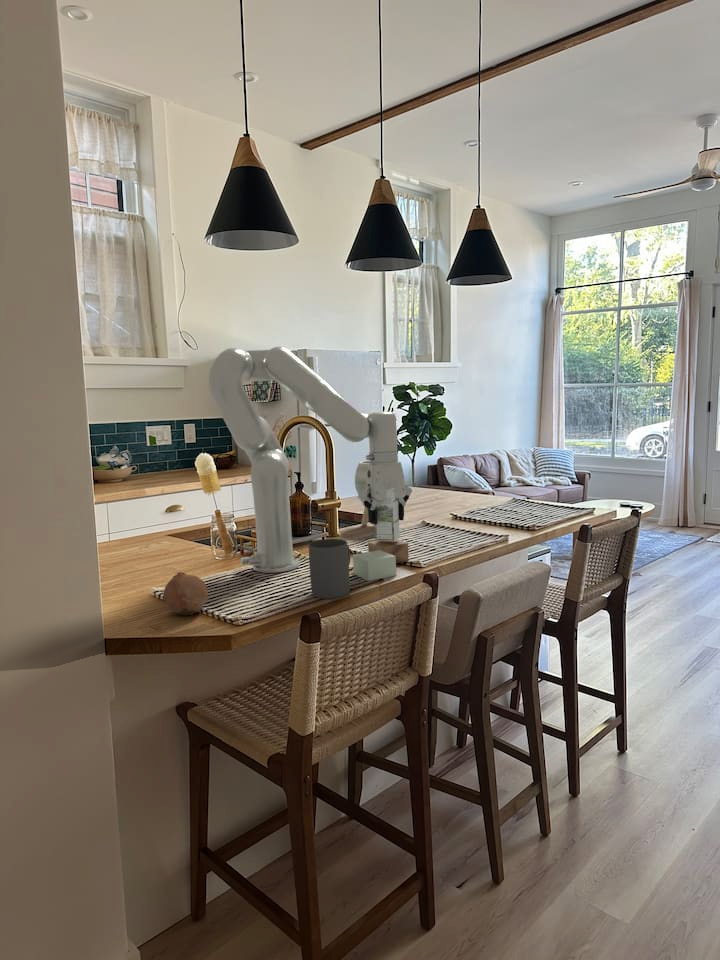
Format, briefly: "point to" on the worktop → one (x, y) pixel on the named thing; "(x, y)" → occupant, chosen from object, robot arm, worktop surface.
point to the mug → (329, 568)
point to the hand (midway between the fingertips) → (386, 521)
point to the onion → (185, 594)
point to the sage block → (374, 565)
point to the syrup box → (387, 517)
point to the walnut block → (391, 548)
